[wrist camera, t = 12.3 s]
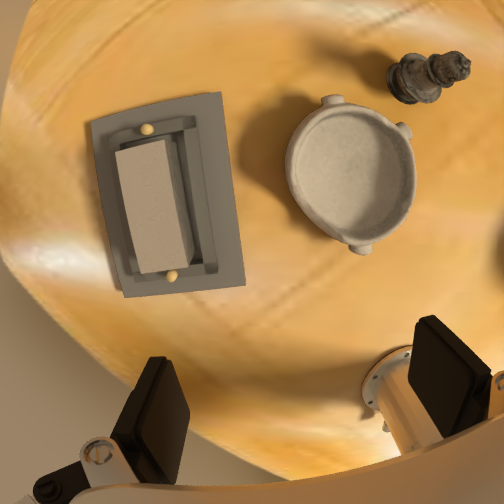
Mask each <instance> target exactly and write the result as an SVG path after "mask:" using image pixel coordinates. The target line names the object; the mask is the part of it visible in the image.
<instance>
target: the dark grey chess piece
mask: <svg viewBox="0 0 504 504" xmlns="http://www.w3.org/2000/svg"><path fill="white" fill-rule="evenodd" d="M470 65H471V61H470V60H469V59H467V58H466V57H465V56H464V55H463V54H462V53H460V52H458V51H450V52H448V53H445V54H443V55H439V54H432V55H430V57H429V58H428V59H427V58H426V57H424V56H423V55H421V54H417V53H409V54H407V55H405V56H404V57H402V58H401V60H400V62H399V63H396V64H393V65H392V66H391V67H390V68H389V69H388V71H387V76H386V78H387V84H388V87H389V89H390V91H391V93H392V94H393V95H394V96H395V98H397V99H398V100H399V101H400V102H403V103H405V104H410V105H411V104H416V103H418V102H422V103H432V102H434V101H436V100H437V99H438V98H439V97H440V94H441V92H442V87H443V88H449V87H451V86H452V85H453V83H454V82H457V81H461V80H465V79H466V78H468V77H469V75H470V70H471V68H470Z"/></svg>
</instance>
